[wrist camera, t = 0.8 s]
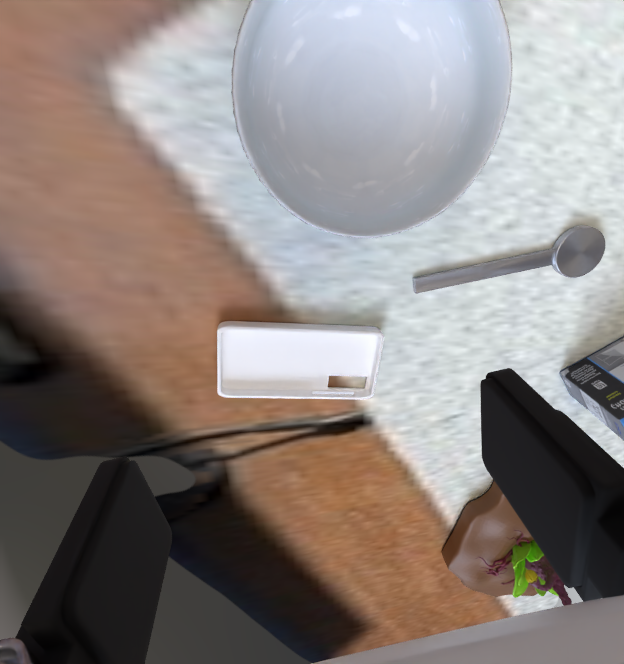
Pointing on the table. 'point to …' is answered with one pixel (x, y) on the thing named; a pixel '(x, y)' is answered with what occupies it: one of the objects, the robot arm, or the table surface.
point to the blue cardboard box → (600, 385)
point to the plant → (499, 552)
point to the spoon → (529, 261)
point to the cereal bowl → (370, 106)
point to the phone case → (295, 359)
